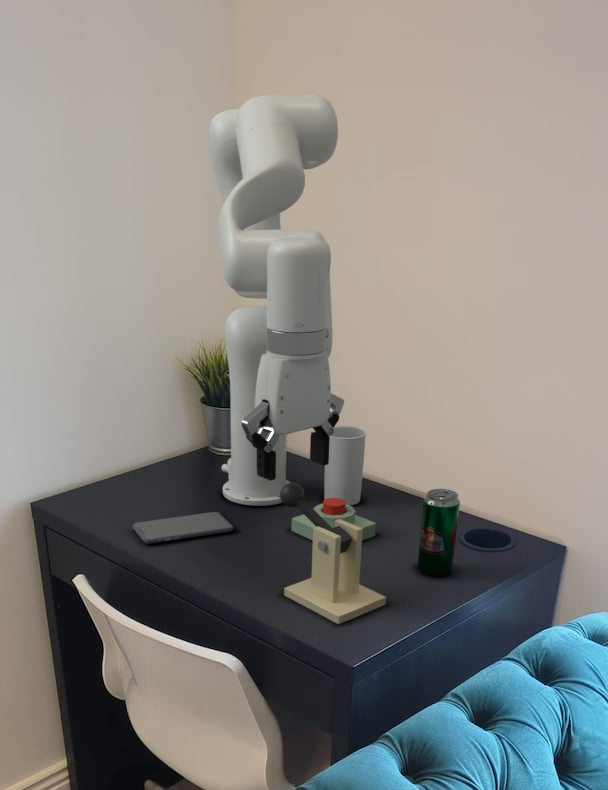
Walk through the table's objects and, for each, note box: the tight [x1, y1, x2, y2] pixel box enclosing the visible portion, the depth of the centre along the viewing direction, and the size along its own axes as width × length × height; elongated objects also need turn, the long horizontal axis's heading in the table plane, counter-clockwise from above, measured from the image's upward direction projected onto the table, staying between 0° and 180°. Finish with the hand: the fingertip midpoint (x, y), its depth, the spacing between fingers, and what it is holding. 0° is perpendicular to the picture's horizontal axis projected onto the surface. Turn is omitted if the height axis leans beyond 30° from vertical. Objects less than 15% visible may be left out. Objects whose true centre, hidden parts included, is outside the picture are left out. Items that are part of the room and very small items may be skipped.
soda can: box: [417, 488, 461, 578], centre depth 140 cm, size 5×5×12 cm
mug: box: [323, 425, 367, 506], centre depth 166 cm, size 10×7×12 cm, turn 13°
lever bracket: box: [283, 519, 387, 625], centre depth 132 cm, size 11×9×11 cm
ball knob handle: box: [280, 482, 352, 554], centre depth 133 cm, size 13×3×3 cm, turn 39°
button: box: [322, 498, 346, 515], centre depth 153 cm, size 4×4×2 cm
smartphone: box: [131, 511, 234, 545], centre depth 156 cm, size 8×1×15 cm
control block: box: [291, 503, 377, 542], centre depth 154 cm, size 10×9×4 cm
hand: (293, 470), depth 133 cm, fingers open, 9 cm apart
